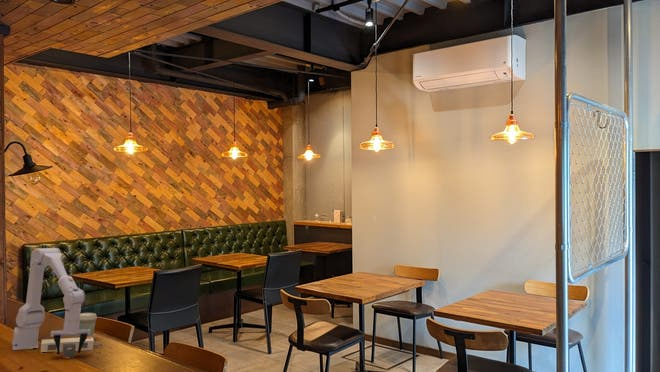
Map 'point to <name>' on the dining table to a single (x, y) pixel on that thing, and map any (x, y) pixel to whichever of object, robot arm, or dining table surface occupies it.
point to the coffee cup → (87, 322)
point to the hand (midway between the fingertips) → (68, 353)
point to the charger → (69, 350)
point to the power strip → (51, 345)
